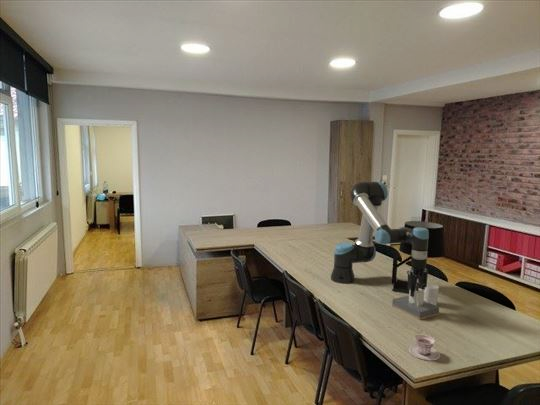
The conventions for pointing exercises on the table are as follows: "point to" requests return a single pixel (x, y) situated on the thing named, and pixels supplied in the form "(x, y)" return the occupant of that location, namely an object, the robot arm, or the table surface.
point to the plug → (418, 297)
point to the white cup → (431, 293)
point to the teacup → (424, 348)
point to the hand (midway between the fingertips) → (416, 301)
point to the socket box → (415, 308)
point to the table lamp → (434, 250)
